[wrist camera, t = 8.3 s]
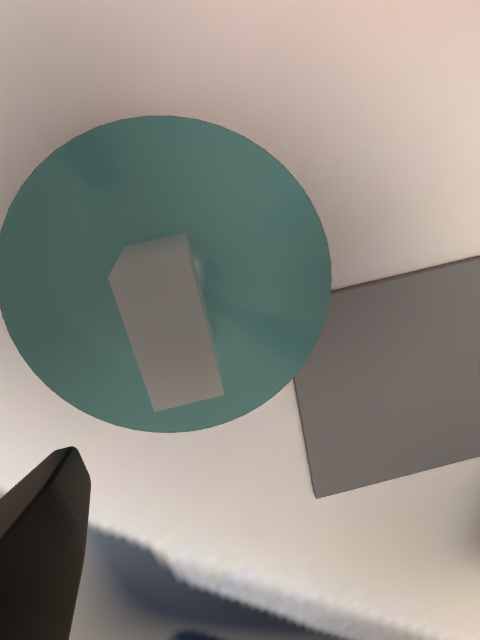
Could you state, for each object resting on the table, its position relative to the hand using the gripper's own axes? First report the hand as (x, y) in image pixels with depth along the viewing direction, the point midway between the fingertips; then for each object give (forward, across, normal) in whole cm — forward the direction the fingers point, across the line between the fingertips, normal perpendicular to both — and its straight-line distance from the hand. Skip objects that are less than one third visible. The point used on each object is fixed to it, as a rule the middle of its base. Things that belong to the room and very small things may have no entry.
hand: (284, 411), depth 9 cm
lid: (+7, +2, -1) cm, 8 cm away
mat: (+12, -8, +9) cm, 17 cm away
